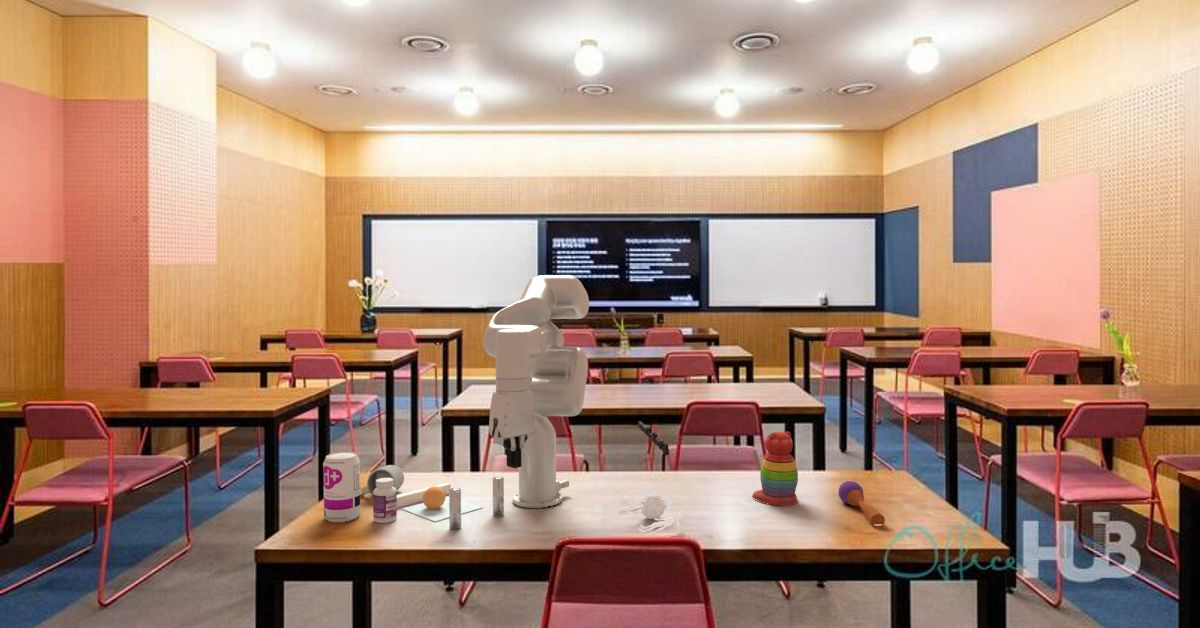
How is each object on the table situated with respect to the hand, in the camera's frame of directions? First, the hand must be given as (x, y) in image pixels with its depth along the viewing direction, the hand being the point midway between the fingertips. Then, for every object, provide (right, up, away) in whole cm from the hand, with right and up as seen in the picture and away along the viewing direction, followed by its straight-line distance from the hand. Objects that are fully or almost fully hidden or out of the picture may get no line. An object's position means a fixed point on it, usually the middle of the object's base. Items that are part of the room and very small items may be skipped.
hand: (514, 466), depth 163 cm
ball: (-22, -12, +18) cm, 31 cm away
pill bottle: (-32, -15, +10) cm, 36 cm away
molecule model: (+31, -15, +11) cm, 36 cm away
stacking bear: (+65, -14, +25) cm, 71 cm away
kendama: (+82, -15, +15) cm, 85 cm away
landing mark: (-20, -14, +18) cm, 31 cm away
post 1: (-14, -15, +4) cm, 21 cm away
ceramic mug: (-39, -14, +31) cm, 51 cm away
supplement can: (-42, -15, +12) cm, 46 cm away
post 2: (-5, -15, +14) cm, 21 cm away
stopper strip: (-27, -14, +25) cm, 40 cm away
